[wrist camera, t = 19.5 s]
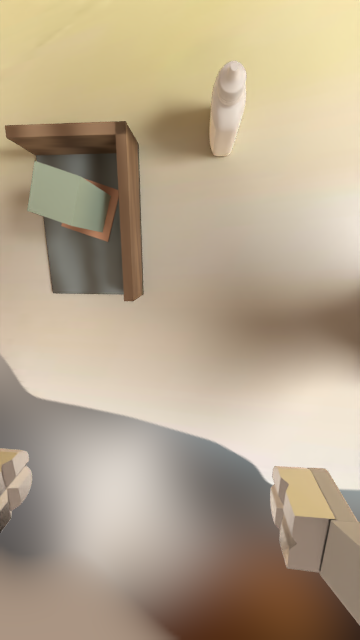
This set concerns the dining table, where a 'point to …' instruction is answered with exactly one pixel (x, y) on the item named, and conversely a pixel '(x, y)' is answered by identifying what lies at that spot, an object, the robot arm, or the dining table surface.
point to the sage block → (67, 198)
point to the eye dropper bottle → (227, 107)
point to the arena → (122, 216)
